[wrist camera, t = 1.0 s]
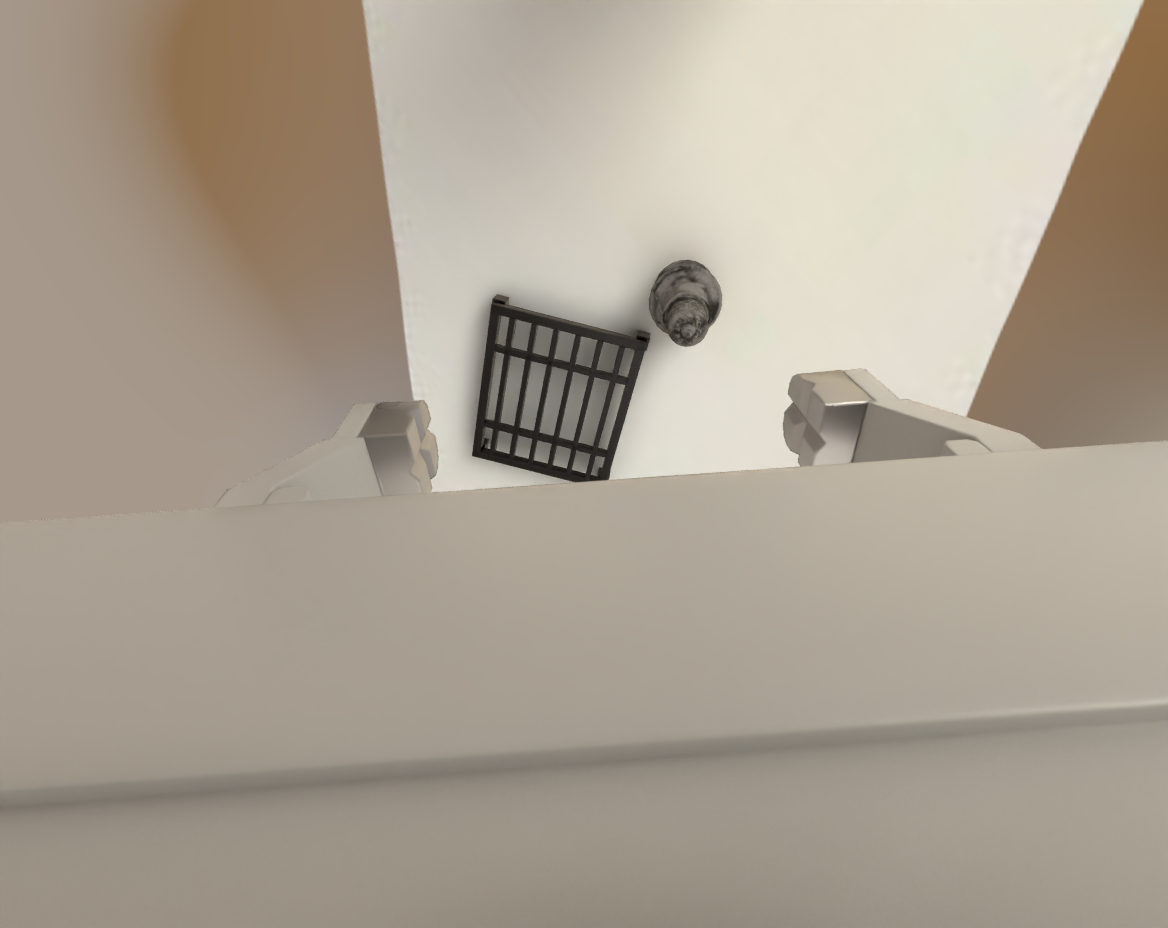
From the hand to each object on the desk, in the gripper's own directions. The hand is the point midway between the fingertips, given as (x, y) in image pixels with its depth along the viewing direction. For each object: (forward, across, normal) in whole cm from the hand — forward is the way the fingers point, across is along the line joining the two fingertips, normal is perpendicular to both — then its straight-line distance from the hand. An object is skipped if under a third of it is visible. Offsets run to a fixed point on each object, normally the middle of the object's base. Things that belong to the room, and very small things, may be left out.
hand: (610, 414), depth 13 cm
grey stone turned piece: (+37, -9, +9) cm, 39 cm away
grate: (+38, +2, +19) cm, 43 cm away
